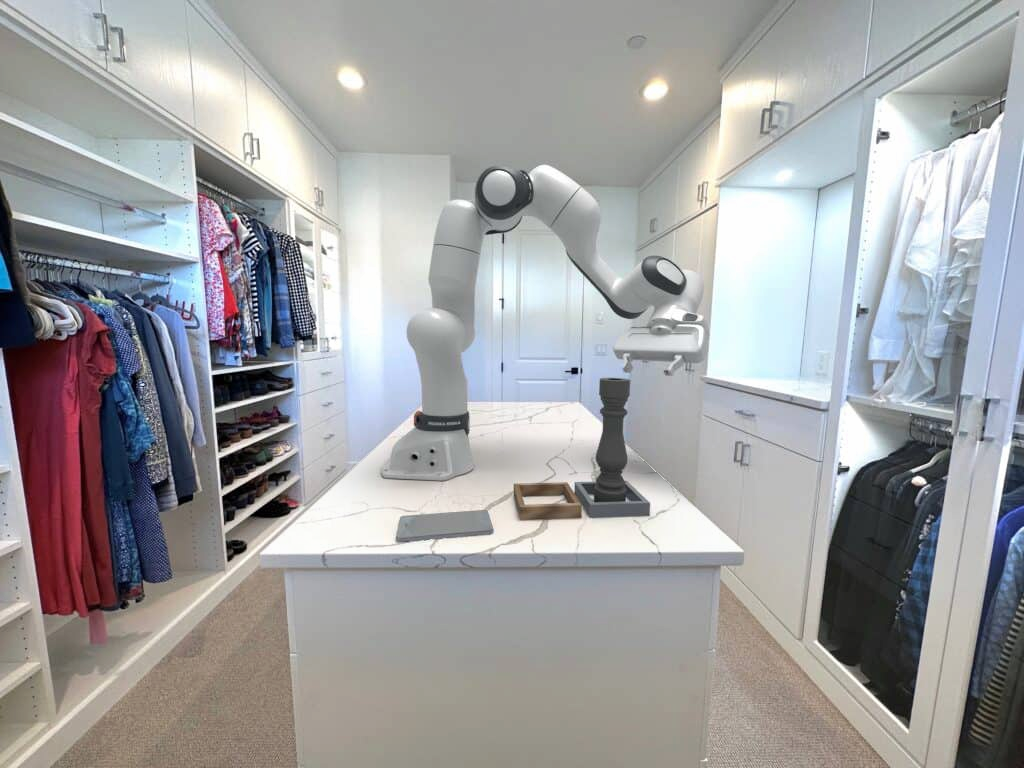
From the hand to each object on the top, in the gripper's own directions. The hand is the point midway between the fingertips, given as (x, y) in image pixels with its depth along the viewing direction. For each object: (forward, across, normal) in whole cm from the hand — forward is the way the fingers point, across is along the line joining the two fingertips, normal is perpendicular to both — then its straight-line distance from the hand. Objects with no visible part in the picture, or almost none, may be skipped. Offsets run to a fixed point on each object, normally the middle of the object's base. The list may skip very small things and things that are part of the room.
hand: (646, 372), depth 85 cm
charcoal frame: (+27, 0, +9) cm, 29 cm away
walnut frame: (+34, -8, +2) cm, 35 cm away
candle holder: (+27, 0, +9) cm, 29 cm away
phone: (+48, -15, -11) cm, 52 cm away
